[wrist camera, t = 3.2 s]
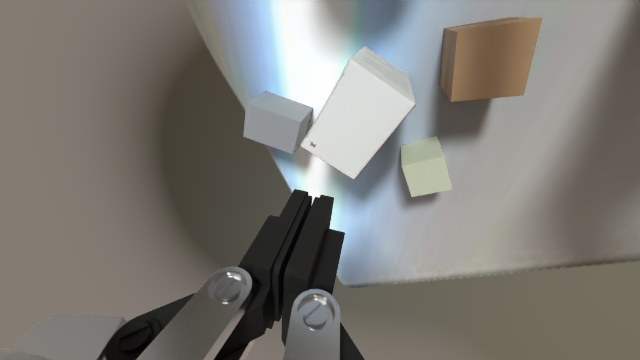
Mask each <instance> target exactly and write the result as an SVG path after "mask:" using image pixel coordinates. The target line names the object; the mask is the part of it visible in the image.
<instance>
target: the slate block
mask: <svg viewBox="0 0 640 360" xmlns="http://www.w3.org/2000/svg"><path fill="white" fill-rule="evenodd" d="M312 110H313V108H312V107H309V106H306V105H303V104H301V103H298V102H295V101H292V100H289V99H287V98H284V97H281V96H278V95H275V94H273V93H270V92H267V91H266V92H264V93H262V94H260V95H259V96H257V97H255V98H254V99H252V100H250V101H249V102H247V104H246V114H245V126H244V137H246V138H249V139H252V140H255V141H257V142H260V143H263V144H265V145H268V146H271V147H274V148H276V149H279V150H282V151H284V152H287V153H290V154H292V155H293V154H294V152H295V151H296V150H297V148H298V147H299V146H300V144H301V143H302V141H303V140H304V138H305V137H306V133H307V129H308V125H309V122H310V118H311V114H312Z"/></svg>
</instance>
